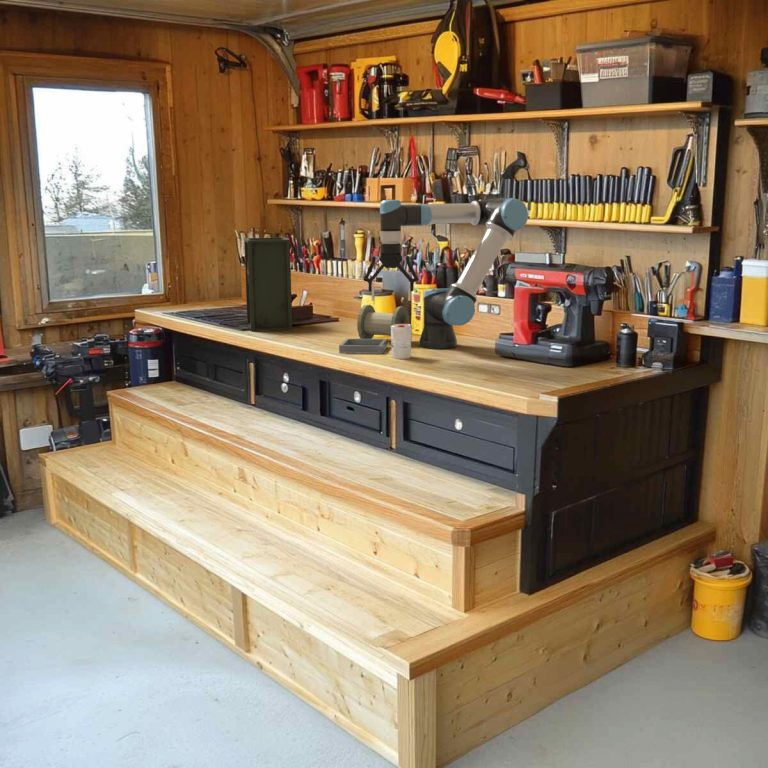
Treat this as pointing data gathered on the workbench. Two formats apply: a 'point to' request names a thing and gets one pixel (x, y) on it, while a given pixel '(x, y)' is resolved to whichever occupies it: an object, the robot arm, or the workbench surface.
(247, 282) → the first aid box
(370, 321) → the spool
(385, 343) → the tray
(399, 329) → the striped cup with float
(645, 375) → the workbench surface
